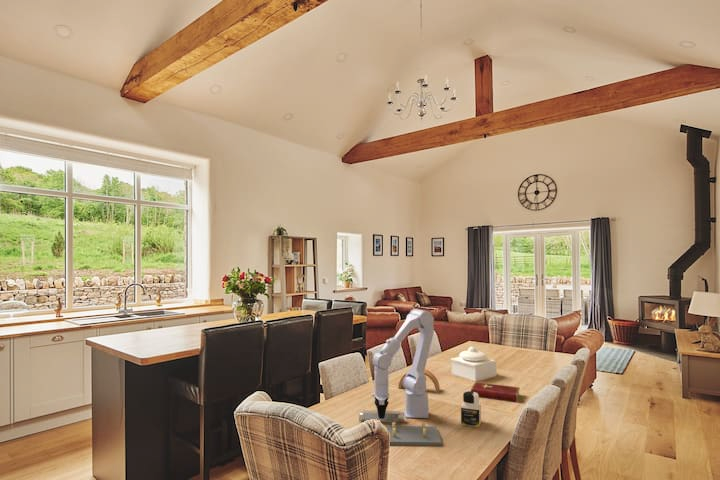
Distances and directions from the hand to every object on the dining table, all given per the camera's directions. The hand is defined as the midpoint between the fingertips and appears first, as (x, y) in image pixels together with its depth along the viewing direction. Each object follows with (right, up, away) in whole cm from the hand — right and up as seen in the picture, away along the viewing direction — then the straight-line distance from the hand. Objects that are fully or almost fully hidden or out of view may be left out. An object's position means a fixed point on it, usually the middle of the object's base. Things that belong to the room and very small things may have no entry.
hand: (381, 416), depth 172 cm
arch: (+21, -4, +41) cm, 46 cm away
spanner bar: (0, -2, 0) cm, 2 cm away
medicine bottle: (+36, -2, -2) cm, 36 cm away
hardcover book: (+56, -3, +31) cm, 65 cm away
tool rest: (+9, -1, -15) cm, 18 cm away
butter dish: (+55, -4, +65) cm, 85 cm away
